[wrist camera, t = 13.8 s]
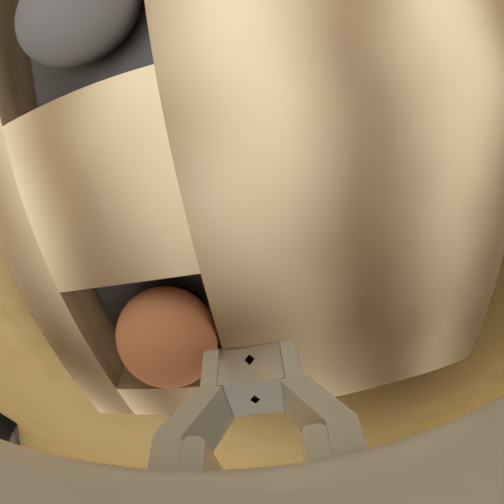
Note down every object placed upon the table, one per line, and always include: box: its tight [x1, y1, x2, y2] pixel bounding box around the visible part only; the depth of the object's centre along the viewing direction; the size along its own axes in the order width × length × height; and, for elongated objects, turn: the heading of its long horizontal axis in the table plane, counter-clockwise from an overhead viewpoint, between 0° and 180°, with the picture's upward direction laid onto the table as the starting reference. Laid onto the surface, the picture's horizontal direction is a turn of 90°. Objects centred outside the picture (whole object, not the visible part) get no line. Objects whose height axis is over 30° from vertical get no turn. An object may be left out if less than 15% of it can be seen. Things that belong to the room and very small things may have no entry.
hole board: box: [0, 0, 504, 415], centre depth 9 cm, size 20×24×2 cm
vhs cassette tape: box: [0, 414, 20, 445], centre depth 19 cm, size 18×3×10 cm, turn 145°
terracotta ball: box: [115, 286, 218, 389], centre depth 12 cm, size 4×4×4 cm
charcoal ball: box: [15, 0, 142, 68], centre depth 6 cm, size 4×4×4 cm
